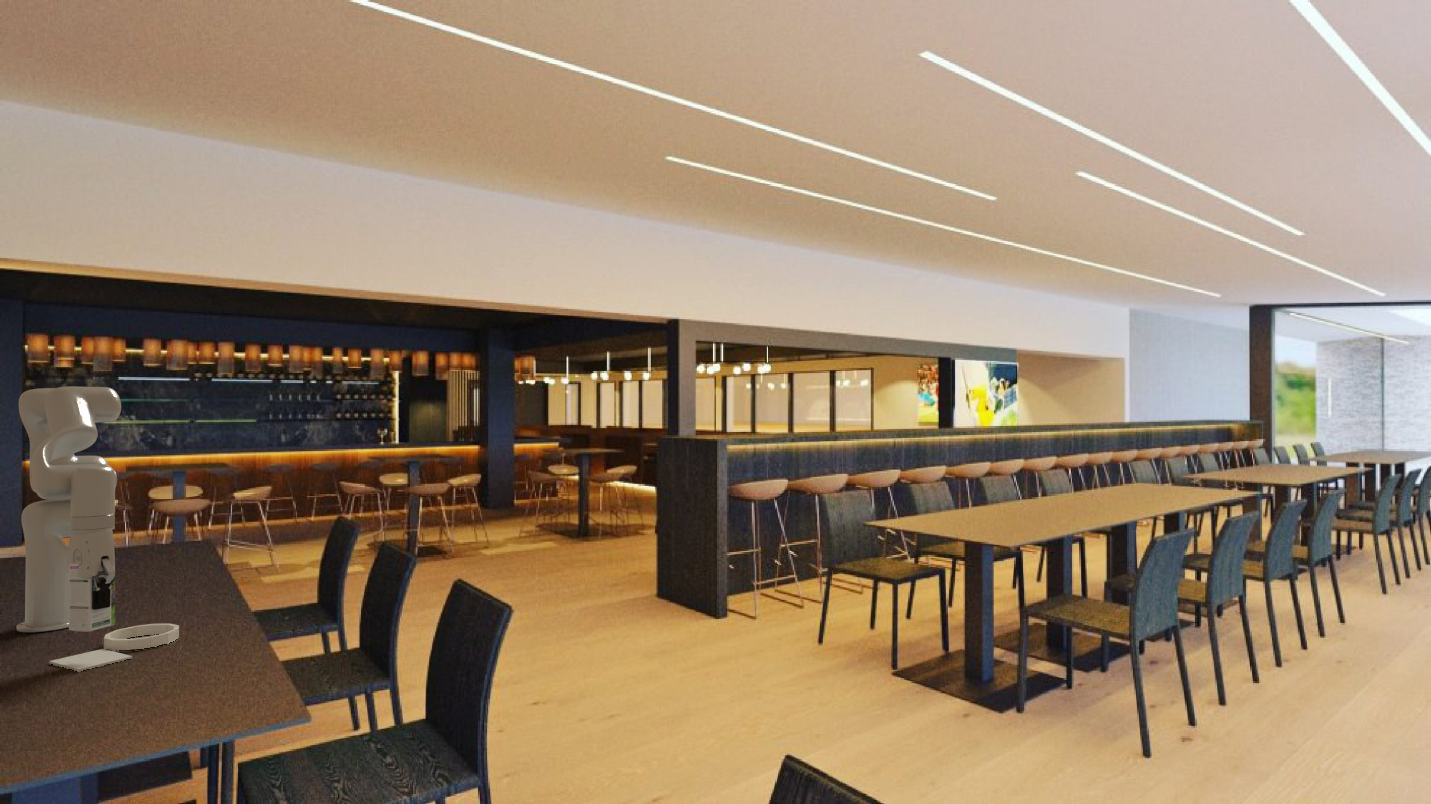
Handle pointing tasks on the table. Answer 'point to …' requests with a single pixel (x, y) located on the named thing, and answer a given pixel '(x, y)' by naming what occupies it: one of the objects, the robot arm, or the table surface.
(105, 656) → the mat
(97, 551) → the robot arm
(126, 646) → the ring dish
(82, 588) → the syrup box
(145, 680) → the table surface
